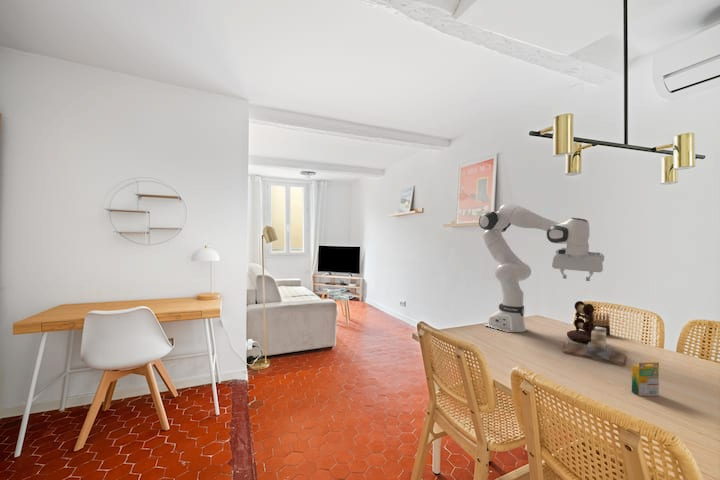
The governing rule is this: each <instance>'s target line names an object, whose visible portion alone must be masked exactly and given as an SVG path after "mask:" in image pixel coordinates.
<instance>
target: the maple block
mask: <svg viewBox="0 0 720 480" xmlns="http://www.w3.org/2000/svg"><path fill="white" fill-rule="evenodd" d="M606 345H607V335H606V333H604V332H598V331H592V332H591V346H592V347H597V348H602V349H605V347H606Z"/></svg>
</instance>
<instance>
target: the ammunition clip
mask: <svg viewBox="0 0 720 480" xmlns="http://www.w3.org/2000/svg"><path fill="white" fill-rule="evenodd" d="M593 321H594V329H593V331H595V327H603V328H606V336H611V326H610V315H609V313H606V314H605V313H603V314H602V313H600V312H599V314H598V312H596V313H594V312H593Z"/></svg>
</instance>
